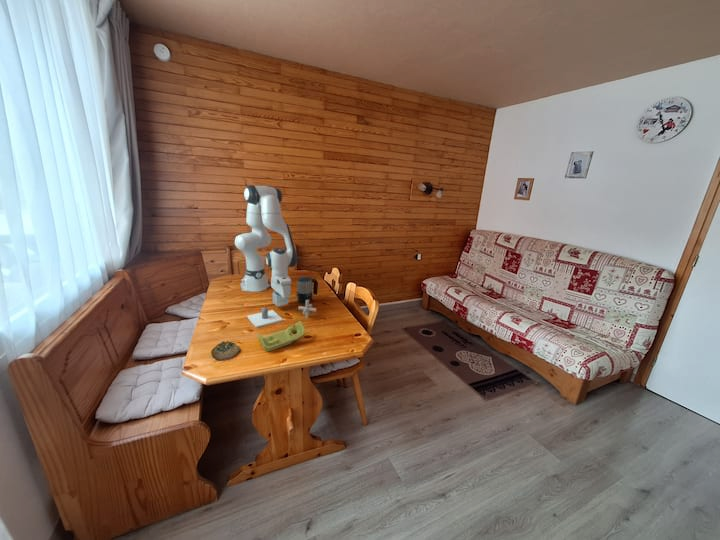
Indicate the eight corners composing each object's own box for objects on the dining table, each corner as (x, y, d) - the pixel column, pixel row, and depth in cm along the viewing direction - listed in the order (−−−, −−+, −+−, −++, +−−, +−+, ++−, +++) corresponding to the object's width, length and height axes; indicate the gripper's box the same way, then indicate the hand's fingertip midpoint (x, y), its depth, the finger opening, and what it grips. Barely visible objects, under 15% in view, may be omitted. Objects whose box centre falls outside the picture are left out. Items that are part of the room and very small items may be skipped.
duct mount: (247, 317, 149) (246, 307, 147) (272, 311, 157) (272, 301, 156) (256, 327, 138) (255, 317, 137) (282, 320, 147) (282, 310, 145)
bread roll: (213, 347, 120) (214, 337, 119) (240, 347, 124) (241, 337, 123) (208, 363, 110) (208, 352, 109) (238, 362, 114) (239, 352, 113)
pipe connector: (312, 322, 147) (312, 305, 144) (295, 319, 149) (294, 302, 146) (319, 314, 156) (319, 298, 154) (302, 312, 158) (302, 296, 155)
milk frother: (305, 304, 168) (305, 282, 164) (286, 299, 176) (285, 277, 171) (319, 297, 180) (320, 276, 176) (301, 292, 188) (301, 271, 183)
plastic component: (265, 349, 117) (258, 331, 123) (265, 358, 122) (257, 340, 127) (308, 334, 128) (299, 318, 133) (306, 343, 132) (298, 327, 138)
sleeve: (272, 302, 161) (272, 292, 159) (283, 299, 165) (283, 290, 163) (277, 306, 156) (276, 296, 155) (288, 303, 160) (287, 294, 159)
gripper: (267, 272, 162) (268, 294, 166) (281, 283, 147) (282, 307, 151) (278, 271, 166) (278, 292, 170) (292, 281, 151) (292, 304, 155)
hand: (280, 299), depth 160 cm, fingers closed on sleeve, 7 cm apart
